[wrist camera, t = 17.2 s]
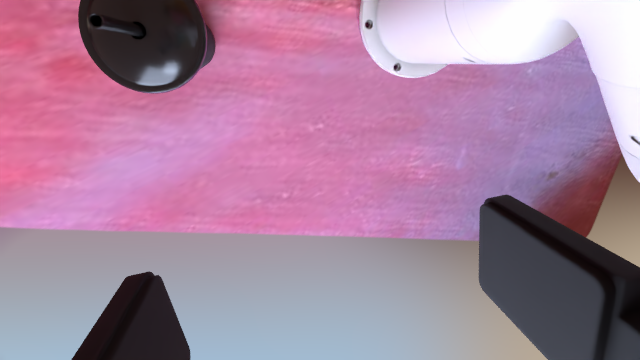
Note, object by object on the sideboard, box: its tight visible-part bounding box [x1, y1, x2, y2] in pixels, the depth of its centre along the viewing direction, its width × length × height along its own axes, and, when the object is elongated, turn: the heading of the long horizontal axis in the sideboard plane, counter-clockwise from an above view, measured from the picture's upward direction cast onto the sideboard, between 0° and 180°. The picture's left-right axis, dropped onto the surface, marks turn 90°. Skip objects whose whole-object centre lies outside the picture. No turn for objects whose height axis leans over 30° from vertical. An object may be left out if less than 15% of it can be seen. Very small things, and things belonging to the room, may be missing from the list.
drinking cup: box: [78, 0, 215, 93], centre depth 25 cm, size 8×8×20 cm
